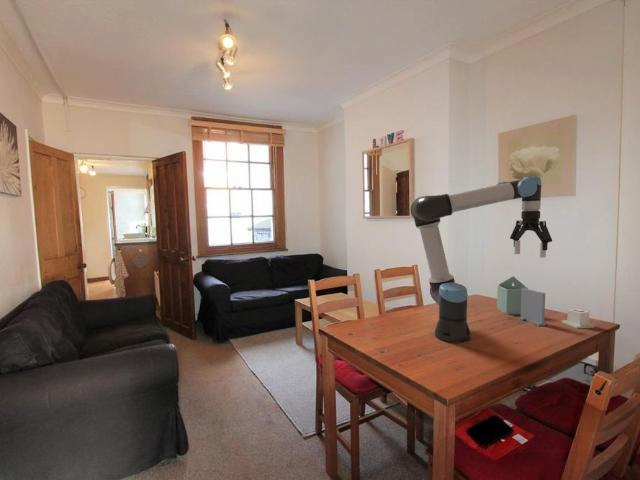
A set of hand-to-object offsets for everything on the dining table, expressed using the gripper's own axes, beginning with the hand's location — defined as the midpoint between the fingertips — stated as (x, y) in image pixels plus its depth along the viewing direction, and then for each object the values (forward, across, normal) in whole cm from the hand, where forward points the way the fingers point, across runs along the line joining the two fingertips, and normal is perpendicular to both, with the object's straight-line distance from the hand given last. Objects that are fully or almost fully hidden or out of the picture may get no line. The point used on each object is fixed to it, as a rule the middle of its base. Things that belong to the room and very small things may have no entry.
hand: (529, 255), depth 162 cm
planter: (+35, +22, -12) cm, 43 cm away
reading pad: (+35, -6, -25) cm, 43 cm away
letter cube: (+34, -6, -25) cm, 43 cm away
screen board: (+35, +5, -9) cm, 36 cm away
